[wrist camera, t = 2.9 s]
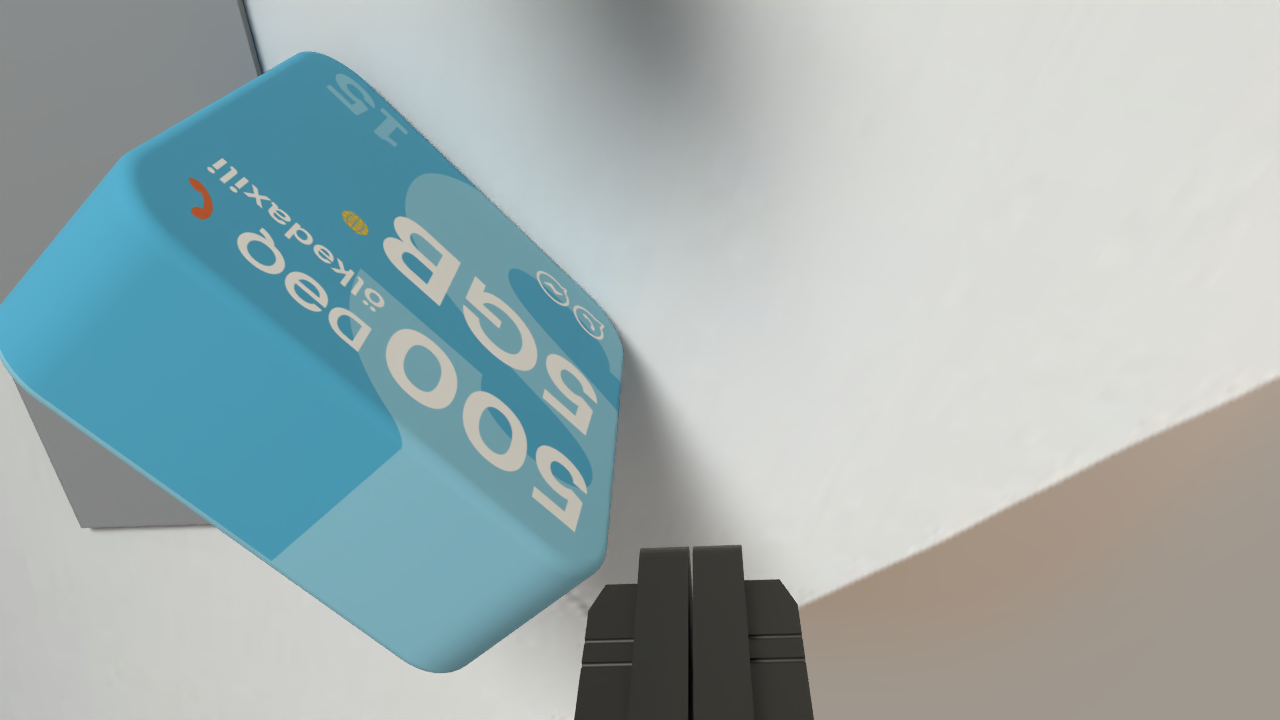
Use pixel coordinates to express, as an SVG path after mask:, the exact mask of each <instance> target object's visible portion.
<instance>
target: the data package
mask: <svg viewBox="0 0 1280 720" xmlns="http://www.w3.org/2000/svg"><path fill="white" fill-rule="evenodd" d="M623 357H624V353H623V347H622V343H621V340H620V338H619V335H618V333H617V331H616V329H615V328H614V326H613V324H612V323H611V321H610V320H609V318H608V317H607V315H606V314H605V313H604V311H603V310H602V309H601V308H600V307H599V306H598V304H597V303H596V302H595V301H594V300H593V299H592V298H591V297H590V296H589V295H588V294H587V293H586V292H585V291H584V290H583V289H582V288H580V287H579V286H578V285H577V284H576V283H575V282H574V281H573V280H572V279H571V278H570V277H569V276H568V275H567V274H566V273H565V272H564V271H563V270H562V269H561V268H560V267H559V266H558V265H556V264H555V263H554V262H553V261H552V260H551V259H550V258H549V257H548V256H547V255H546V254H545V253H544V252H543V251H542V250H541V249H540V248H539V247H538V246H537V245H536V244H535V243H534V242H532V241H531V240H530V239H529V238H528V237H527V236H526V235H525V234H524V233H523V232H522V231H521V230H520V229H519V228H518V227H517V226H516V225H515V224H514V223H513V222H512V221H511V220H510V219H508V218H507V217H506V216H505V215H504V214H503V213H502V212H501V211H500V210H499V209H498V208H497V207H496V206H495V205H494V204H493V203H492V202H491V201H490V200H489V199H488V198H487V197H486V196H485V195H483V194H482V193H481V192H480V191H479V190H478V189H477V188H476V187H475V186H474V185H473V184H472V183H471V182H470V181H469V180H468V179H467V178H466V177H465V176H464V175H463V174H462V173H461V172H459V171H458V170H457V169H456V168H455V167H454V166H453V165H452V164H451V163H450V162H449V161H448V160H447V159H446V158H445V157H444V156H443V155H442V154H441V153H440V152H439V151H438V150H437V149H435V148H434V147H433V146H432V145H431V144H430V143H429V142H428V141H427V140H426V139H425V138H424V137H423V136H422V135H421V134H420V133H419V132H418V131H417V130H416V129H415V128H414V127H413V126H411V125H410V124H409V123H408V122H407V121H406V120H405V119H404V118H403V117H402V116H401V115H400V114H399V113H398V112H397V111H396V110H395V109H394V108H393V107H392V106H391V105H390V104H389V103H387V102H386V101H385V100H384V99H383V98H382V97H381V96H380V95H379V94H378V93H377V92H376V91H375V90H374V89H373V88H372V87H371V86H370V85H369V84H368V83H366V82H365V81H364V80H363V79H362V78H361V77H360V76H358V75H357V74H356V73H355V72H353V71H352V70H351V69H349V68H348V67H346V66H345V65H343V64H342V63H340V62H338V61H336V60H335V59H333V58H331V57H328V56H326V55H323V54H320V53H316V52H301V53H298V54H296V55H295V56H293V57H291V58H289V59H288V60H286V61H284V62H282V63H281V64H279V65H277V66H276V67H274V68H272V69H270V70H269V71H267V72H265V73H264V74H262V75H260V76H258V77H257V78H255V79H253V80H251V81H250V82H248V83H246V84H245V85H243V86H241V87H239V88H238V89H236V90H234V91H232V92H231V93H229V94H227V95H226V96H224V97H222V98H220V99H219V100H217V101H215V102H213V103H212V104H210V105H208V106H207V107H205V108H203V109H201V110H200V111H198V112H196V113H194V114H193V115H191V116H189V117H188V118H186V119H184V120H182V121H181V122H179V123H177V124H175V125H174V126H172V127H170V128H169V129H167V130H165V131H163V132H162V133H160V134H158V135H156V136H155V137H153V138H151V139H150V140H148V141H146V142H144V143H143V144H141V145H139V146H137V147H136V148H134V149H132V150H131V151H129V152H127V153H126V154H125V155H123V156H122V157H121V158H120V159H119V160H118V161H117V163H116V164H115V165H114V166H113V167H112V169H111V170H110V171H109V172H108V174H107V175H106V176H105V177H104V178H103V180H102V181H101V182H100V183H99V185H98V186H97V187H96V188H95V189H94V191H93V192H92V193H91V194H90V196H89V197H88V198H87V199H86V200H85V202H84V203H83V204H82V205H81V207H80V208H79V209H78V210H77V211H76V213H75V214H74V215H73V216H72V218H71V219H70V220H69V221H68V222H67V224H66V225H65V226H64V227H63V229H62V230H61V231H60V232H59V233H58V235H57V236H56V237H55V238H54V240H53V241H52V242H51V243H50V244H49V246H48V247H47V248H46V249H45V251H44V252H43V253H42V254H41V255H40V257H39V258H38V259H37V260H36V262H35V263H34V264H33V265H32V266H31V268H30V269H29V270H28V271H27V273H26V274H25V275H24V276H23V277H22V279H21V280H20V281H19V282H18V284H17V285H16V286H15V287H14V288H13V290H12V291H11V292H10V293H9V295H8V296H7V297H6V298H5V300H4V301H3V302H2V303H1V305H0V359H1V361H2V363H3V365H4V366H5V368H6V369H7V370H8V372H9V373H10V375H11V376H12V377H13V378H14V379H15V381H16V382H17V383H18V384H19V385H20V386H21V387H22V388H23V389H24V390H25V391H26V392H27V393H29V394H30V395H31V396H33V397H34V398H35V399H36V400H38V401H39V402H40V403H42V404H43V405H45V406H46V407H47V408H49V409H50V410H52V411H53V412H55V413H56V414H57V415H59V416H60V417H62V418H63V419H64V420H66V421H67V422H69V423H70V424H71V425H73V426H74V427H76V428H77V429H78V430H80V431H81V432H83V433H84V434H85V435H87V436H88V437H90V438H91V439H92V440H94V441H95V442H97V443H98V444H100V445H101V446H102V447H104V448H105V449H107V450H108V451H109V452H111V453H112V454H114V455H115V456H116V457H118V458H119V459H121V460H122V461H123V462H125V463H126V464H128V465H129V466H130V467H132V468H133V469H135V470H136V471H137V472H139V473H140V474H142V475H143V476H145V477H146V478H147V479H149V480H150V481H152V482H153V483H154V484H156V485H157V486H159V487H160V488H161V489H163V490H164V491H166V492H167V493H168V494H170V495H171V496H173V497H174V498H175V499H177V500H178V501H180V502H181V503H182V504H184V505H185V506H187V507H188V508H190V509H191V510H192V511H194V512H195V513H197V514H198V515H199V516H201V517H202V518H204V519H205V520H206V521H208V522H209V523H211V524H212V525H213V526H215V527H216V528H218V529H219V530H220V531H222V532H223V533H225V534H226V535H227V536H229V537H230V538H232V539H233V540H235V541H236V542H237V543H239V544H240V545H242V546H243V547H244V548H246V549H247V550H249V551H250V552H251V553H253V554H254V555H256V556H257V557H258V558H260V559H261V560H263V561H264V562H265V563H267V564H268V565H270V566H271V567H273V568H274V569H275V570H277V571H278V572H280V573H281V574H282V575H284V576H285V577H287V578H288V579H289V580H291V581H292V582H294V583H295V584H296V585H298V586H299V587H301V588H302V589H303V590H305V591H306V592H308V593H309V594H310V595H312V596H313V597H315V598H316V599H318V600H319V601H320V602H322V603H323V604H325V605H326V606H327V607H329V608H330V609H332V610H333V611H334V612H336V613H337V614H339V615H340V616H341V617H343V618H344V619H346V620H347V621H348V622H350V623H351V624H353V625H354V626H355V627H357V628H358V629H360V630H361V631H363V632H364V633H365V634H367V635H368V636H370V637H371V638H372V639H374V640H375V641H377V642H378V643H379V644H381V645H382V646H384V647H385V648H386V649H388V650H389V651H391V652H392V653H393V654H395V655H396V656H398V657H399V658H400V659H402V660H404V661H405V662H407V663H408V664H410V665H412V666H414V667H416V668H418V669H421V670H424V671H428V672H433V673H447V672H453V671H456V670H459V669H461V668H463V667H464V666H466V665H467V664H469V663H470V662H472V661H473V660H474V659H476V658H477V657H479V656H480V655H481V654H483V653H484V652H486V651H487V650H488V649H490V648H491V647H492V646H494V645H495V644H497V643H498V642H499V641H501V640H502V639H504V638H505V637H506V636H508V635H509V634H510V633H512V632H513V631H515V630H516V629H517V628H519V627H520V626H522V625H523V624H524V623H526V622H527V621H529V620H530V619H531V618H533V617H534V616H535V615H537V614H538V613H540V612H541V611H542V610H544V609H545V608H547V607H548V606H549V605H551V604H552V603H553V602H555V601H556V600H558V599H559V598H560V597H562V596H563V595H565V594H566V593H567V592H569V591H570V590H572V589H573V588H574V587H576V586H577V585H578V584H580V583H581V582H583V581H584V580H585V579H587V578H588V577H590V576H591V575H592V574H594V573H595V572H596V571H597V570H598V569H599V568H600V566H601V564H602V563H603V561H604V558H605V555H606V550H607V541H608V530H609V518H610V507H611V495H612V484H613V472H614V461H615V449H616V438H617V426H618V415H619V403H620V392H621V380H622V369H623Z"/></svg>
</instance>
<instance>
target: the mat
mask: <svg viewBox="0 0 1280 720" xmlns="http://www.w3.org/2000/svg"><path fill="white" fill-rule="evenodd" d="M260 75H262V73H261V69H260V65H259V61H258V58H257V54H256V50H255V47H254V43H253V39H252V35H251V32H250V28H249V24H248V20H247V17H246V13H245V9H244V6H243V2H242V0H0V305H1V303H2V302H3V301H4V300H5V298H6V297H7V296H8V295H9V293H10V292H11V291H12V290H13V288H14V287H15V286H16V285H17V284H18V282H19V281H20V280H21V279H22V277H23V276H24V275H25V274H26V273H27V271H28V270H29V269H30V268H31V266H32V265H33V264H34V263H35V262H36V260H37V259H38V258H39V257H40V255H41V254H42V253H43V252H44V251H45V249H46V248H47V247H48V246H49V244H50V243H51V242H52V241H53V240H54V238H55V237H56V236H57V235H58V233H59V232H60V231H61V230H62V229H63V227H64V226H65V225H66V224H67V222H68V221H69V220H70V219H71V218H72V216H73V215H74V214H75V213H76V211H77V210H78V209H79V208H80V207H81V205H82V204H83V203H84V202H85V200H86V199H87V198H88V197H89V196H90V194H91V193H92V192H93V191H94V189H95V188H96V187H97V186H98V185H99V183H100V182H101V181H102V180H103V178H104V177H105V176H106V175H107V174H108V172H109V171H110V170H111V169H112V167H113V166H114V165H115V164H116V163H117V161H118V160H119V159H120V158H121V157H122V156H123V155H125V154H126V153H127V152H129V151H131V150H132V149H134V148H136V147H137V146H139V145H141V144H143V143H144V142H146V141H148V140H150V139H151V138H153V137H155V136H156V135H158V134H160V133H162V132H163V131H165V130H167V129H169V128H170V127H172V126H174V125H175V124H177V123H179V122H181V121H182V120H184V119H186V118H188V117H189V116H191V115H193V114H194V113H196V112H198V111H200V110H201V109H203V108H205V107H207V106H208V105H210V104H212V103H213V102H215V101H217V100H219V99H220V98H222V97H224V96H226V95H227V94H229V93H231V92H232V91H234V90H236V89H238V88H239V87H241V86H243V85H245V84H246V83H248V82H250V81H251V80H253V79H255V78H257V77H258V76H260ZM12 378H13V377H12ZM13 380H14V382H15V384H16V386H17V389H18V391H19V393H20V395H21V397H22V399H23V402H24V404H25V406H26V408H27V410H28V413H29V415H30V417H31V419H32V421H33V423H34V426H35V428H36V430H37V432H38V434H39V437H40V439H41V441H42V443H43V445H44V448H45V450H46V452H47V454H48V456H49V458H50V461H51V463H52V465H53V467H54V469H55V472H56V474H57V476H58V478H59V480H60V482H61V485H62V487H63V489H64V491H65V493H66V496H67V498H68V500H69V502H70V504H71V506H72V509H73V511H74V513H75V515H76V517H77V520H78V522H79V524H80V526H81V528H98V527H129V526H160V525H190V524H211V523H209V522H208V521H206V520H205V519H204V518H202V517H201V516H199V515H198V514H197V513H195V512H194V511H192V510H191V509H190V508H188V507H187V506H185V505H184V504H182V503H181V502H180V501H178V500H177V499H175V498H174V497H173V496H171V495H170V494H168V493H167V492H166V491H164V490H163V489H161V488H160V487H159V486H157V485H156V484H154V483H153V482H152V481H150V480H149V479H147V478H146V477H145V476H143V475H142V474H140V473H139V472H137V471H136V470H135V469H133V468H132V467H130V466H129V465H128V464H126V463H125V462H123V461H122V460H121V459H119V458H118V457H116V456H115V455H114V454H112V453H111V452H109V451H108V450H107V449H105V448H104V447H102V446H101V445H100V444H98V443H97V442H95V441H94V440H92V439H91V438H90V437H88V436H87V435H85V434H84V433H83V432H81V431H80V430H78V429H77V428H76V427H74V426H73V425H71V424H70V423H69V422H67V421H66V420H64V419H63V418H62V417H60V416H59V415H57V414H56V413H55V412H53V411H52V410H50V409H49V408H47V407H46V406H45V405H43V404H42V403H40V402H39V401H38V400H36V399H35V398H34V397H33V396H31V395H30V394H29V393H27V392H26V391H25V390H24V389H23V388H22V387H21V386H20V385H19V384H18V383H17V382H16V381H15V379H14V378H13Z"/></svg>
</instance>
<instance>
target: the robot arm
mask: <svg viewBox="0 0 1280 720" xmlns="http://www.w3.org/2000/svg"><path fill="white" fill-rule="evenodd" d="M574 720H814V717H813V710H812V703H811V696H810V689H809V682H808V675H807V668H806V663H805V654H804V647H803V640H802V632H801V625H800V618H799V611H798V604H797V603H796V602H795V600H794V599H793V597H792V596H791V595H790V593H789V592H788V591H787V589H786V588H785V586H784V585H783V584H782V582H781V581H780V580H779V579H778V580H744V572H743V559H742V547H741V545H725V546H694V547H693V592H692V578H691V563H690V551H689V547H670V548H641V550H640V557H639V571H638V584H617V585H606V586H605V587H604V589H603V590H602V592H601V593H600V594H599V596H598V597H597V599H596V600H595V602H594V603H593V605H592V606H591V608H590V609H589V612H588V619H587V627H586V634H585V645H584V650H583V657H582V668H581V673H580V680H579V688H578V695H577V703H576V711H575V718H574Z"/></svg>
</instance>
